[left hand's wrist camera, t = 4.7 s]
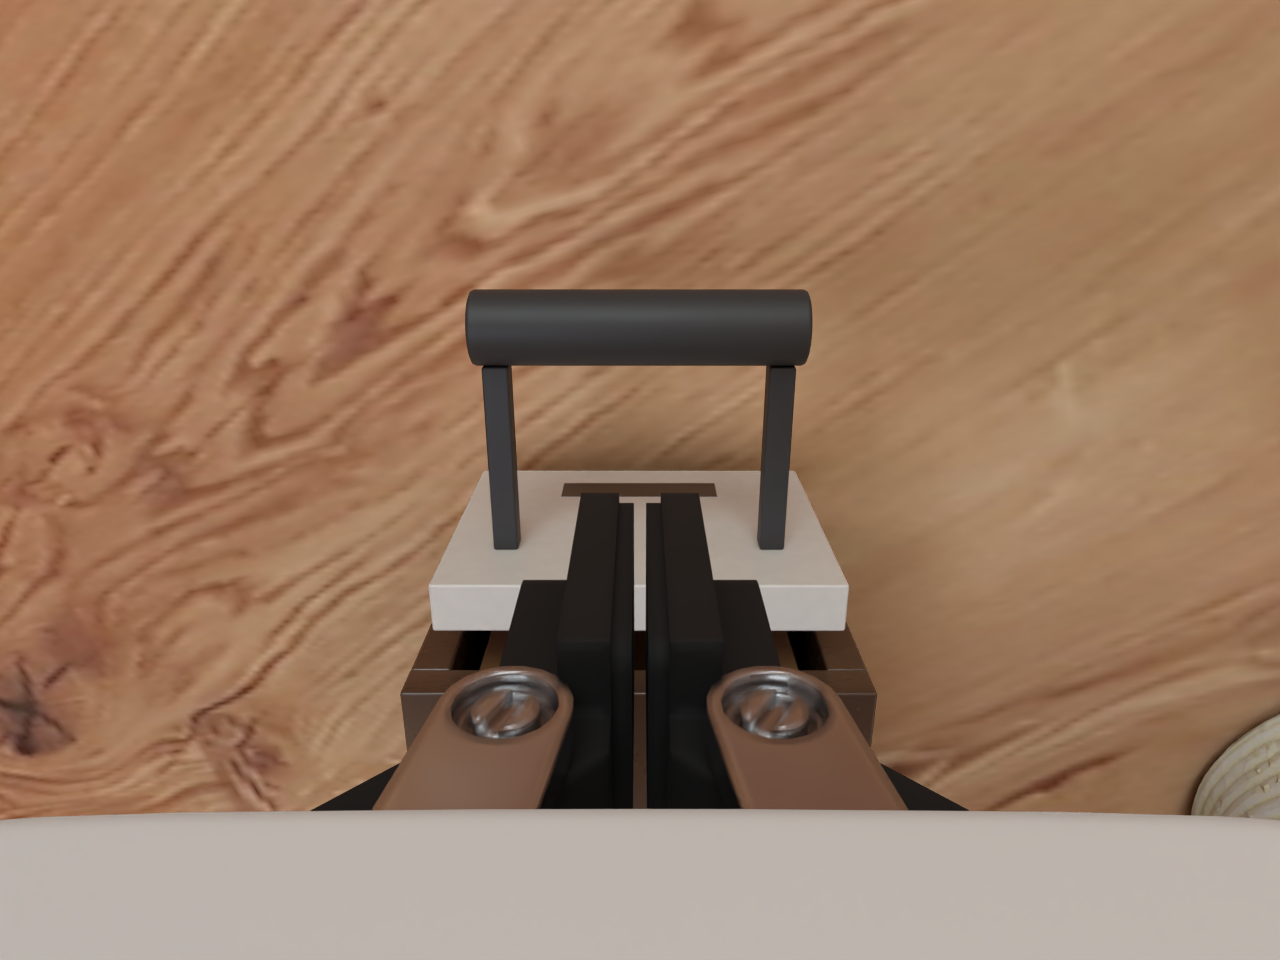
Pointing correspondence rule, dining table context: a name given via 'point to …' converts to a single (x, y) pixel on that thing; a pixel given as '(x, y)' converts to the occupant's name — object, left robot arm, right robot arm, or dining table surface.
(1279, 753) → the seashell
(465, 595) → the drawer
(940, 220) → the dining table surface
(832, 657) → the brown rectangular box
